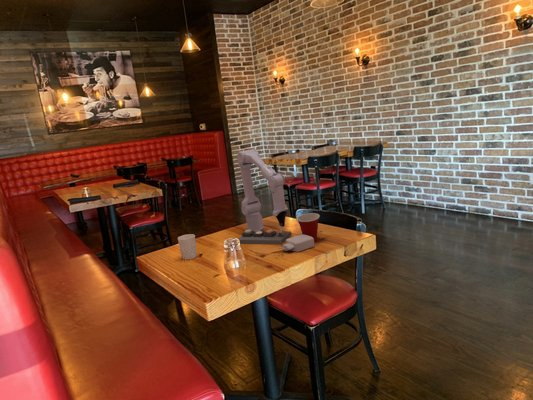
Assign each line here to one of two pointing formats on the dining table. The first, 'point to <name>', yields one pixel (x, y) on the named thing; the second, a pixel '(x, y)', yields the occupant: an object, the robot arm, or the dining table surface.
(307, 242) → the white bottle
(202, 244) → the dining table surface
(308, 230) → the plastic cup
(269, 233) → the button terracotta
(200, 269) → the dining table surface
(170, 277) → the dining table surface
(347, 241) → the dining table surface
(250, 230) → the button sage
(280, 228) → the toggle lever
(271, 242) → the control panel
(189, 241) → the white cup
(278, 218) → the robot arm
